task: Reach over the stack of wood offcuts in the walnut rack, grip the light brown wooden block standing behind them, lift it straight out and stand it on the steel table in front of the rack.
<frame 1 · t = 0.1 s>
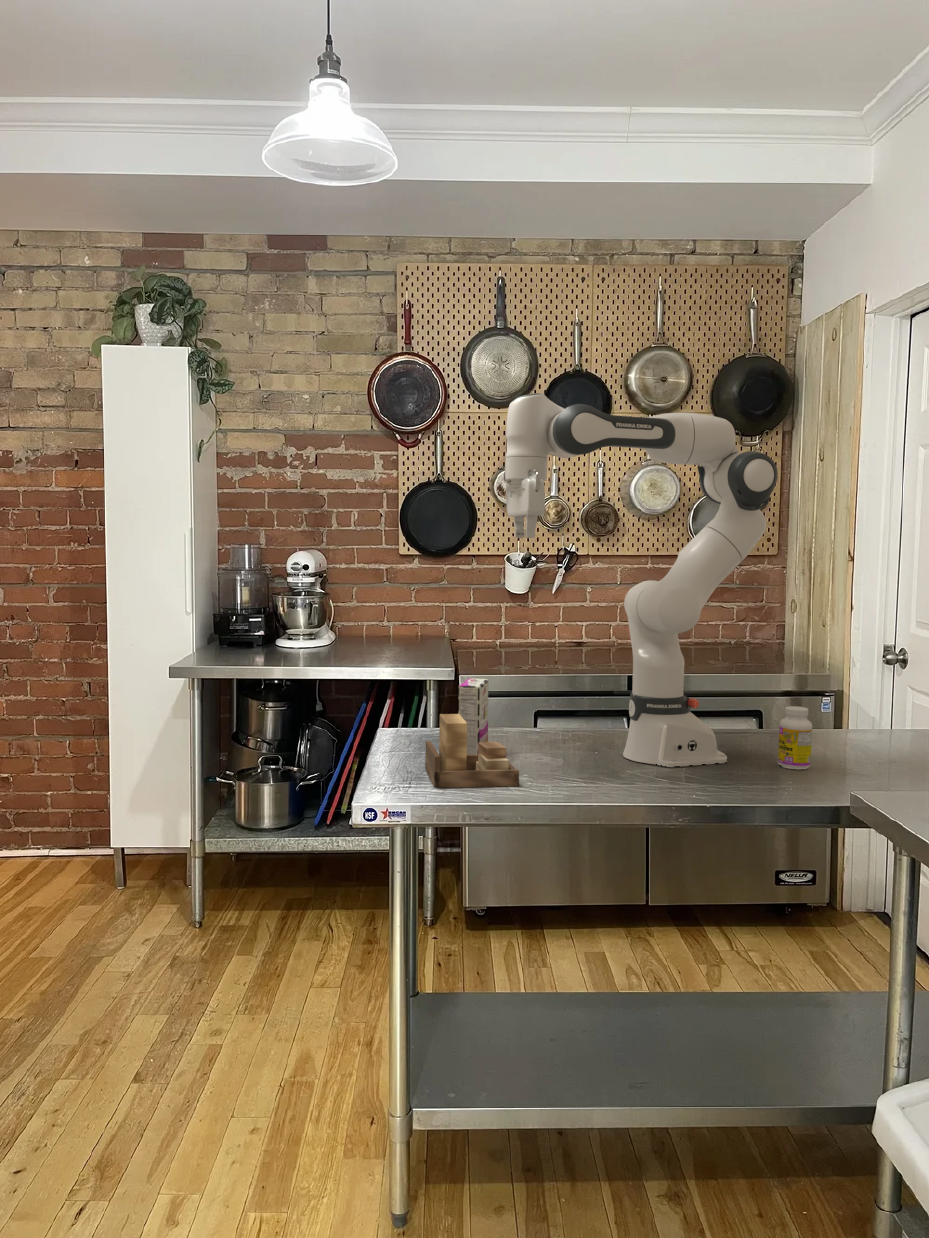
hand: (524, 538, 201), 48 cm above the table, tool pointing down, fingers open, 8 cm apart
rack: (469, 777, 190), on the table
light brown wooden block: (452, 778, 189), on the table
offcut top: (491, 754, 191), point 4 cm above the table, touching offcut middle
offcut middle: (493, 768, 190), point 2 cm above the table, touching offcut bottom, offcut top
candy bar box: (472, 756, 210), on the table
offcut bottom: (491, 779, 191), on the table, touching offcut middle
supplement bottle: (793, 768, 204), on the table
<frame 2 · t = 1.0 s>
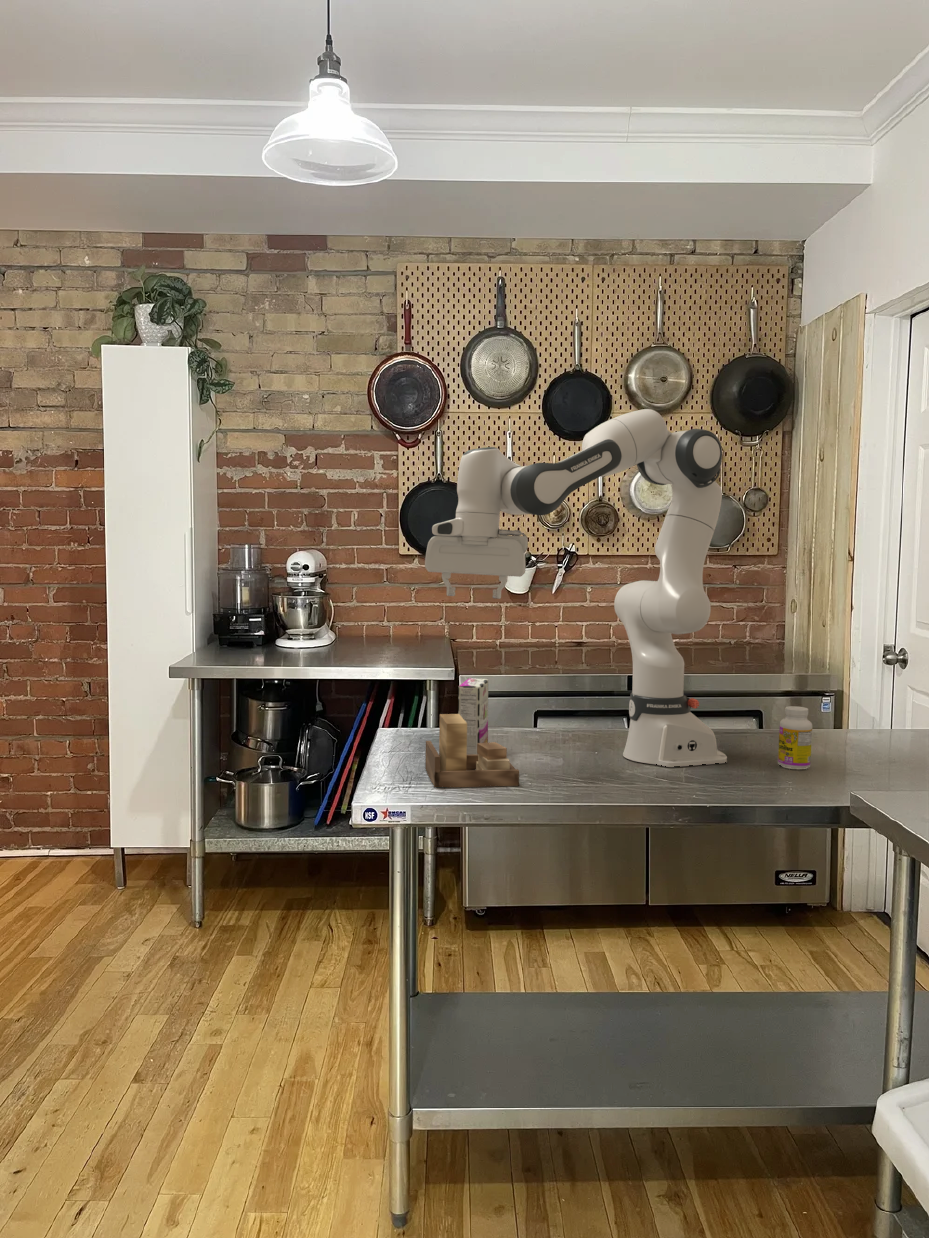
hand: (473, 597, 191), 36 cm above the table, tool pointing down, fingers open, 8 cm apart
nothing on the table moved.
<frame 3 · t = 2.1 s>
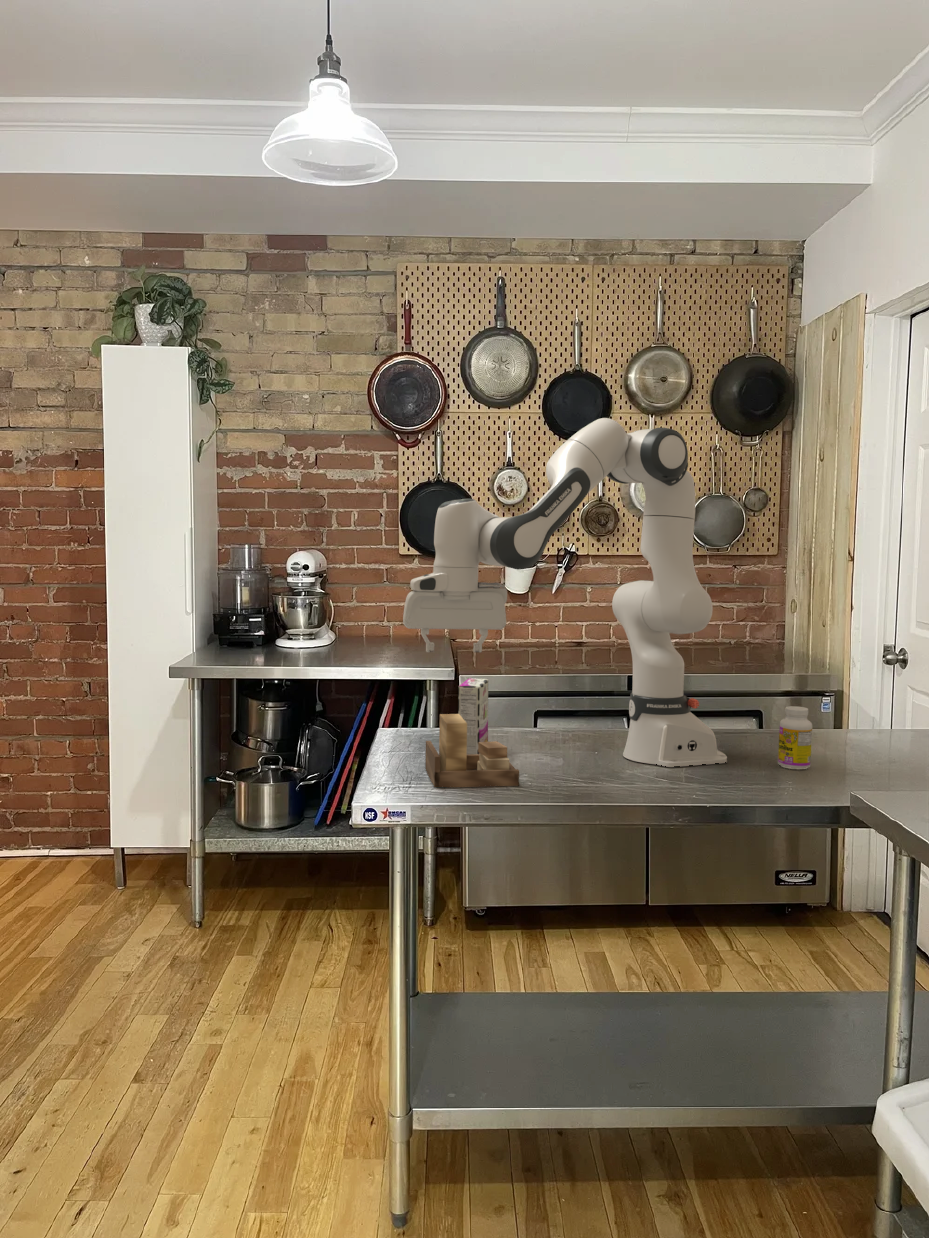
hand: (453, 652, 187), 25 cm above the table, tool pointing down, fingers open, 8 cm apart
nothing on the table moved.
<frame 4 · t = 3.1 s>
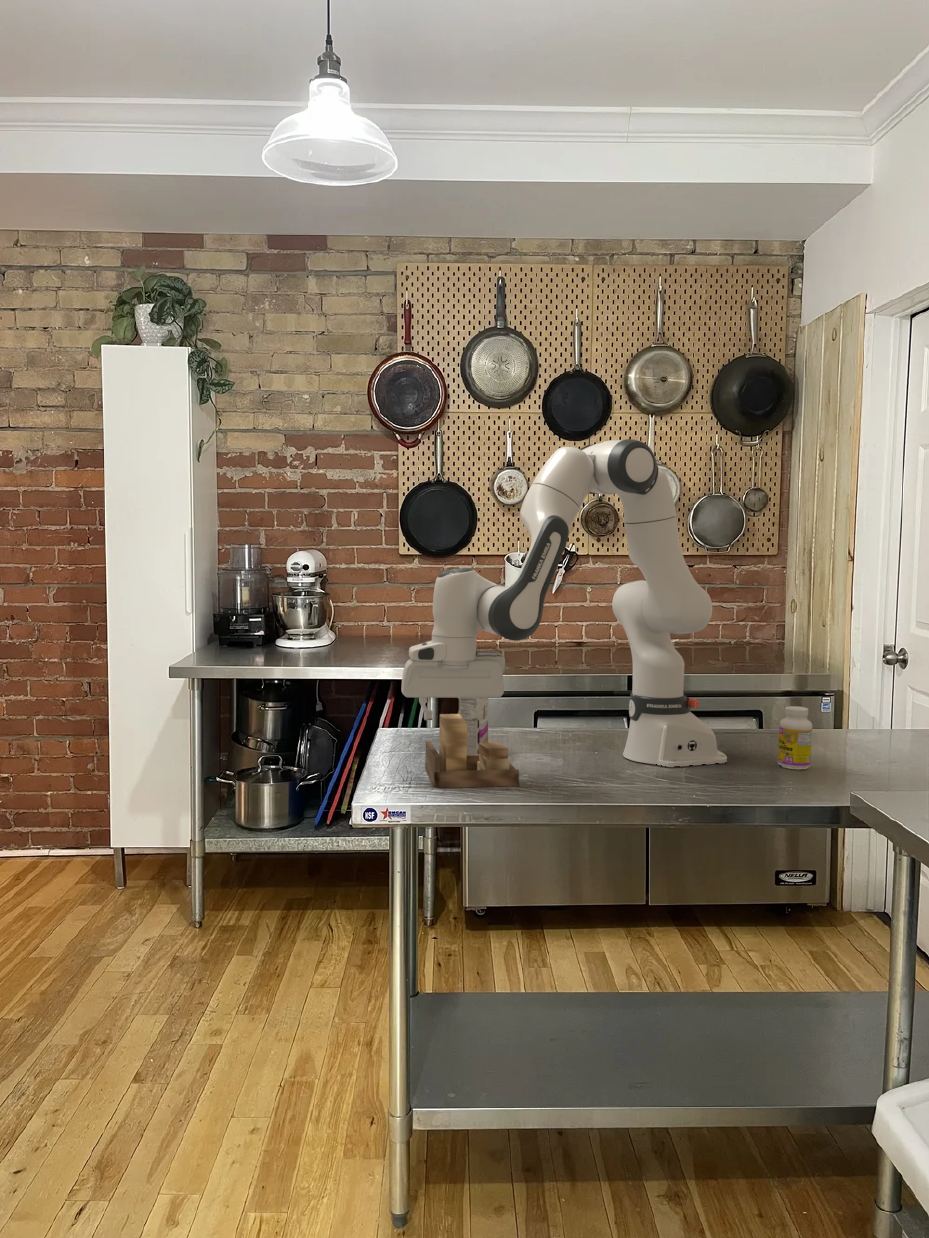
hand: (451, 719, 188), 12 cm above the table, tool pointing down, fingers open, 8 cm apart
offcut top: (492, 755, 190), point 4 cm above the table
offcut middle: (493, 768, 190), point 2 cm above the table, touching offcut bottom
everything else where it was.
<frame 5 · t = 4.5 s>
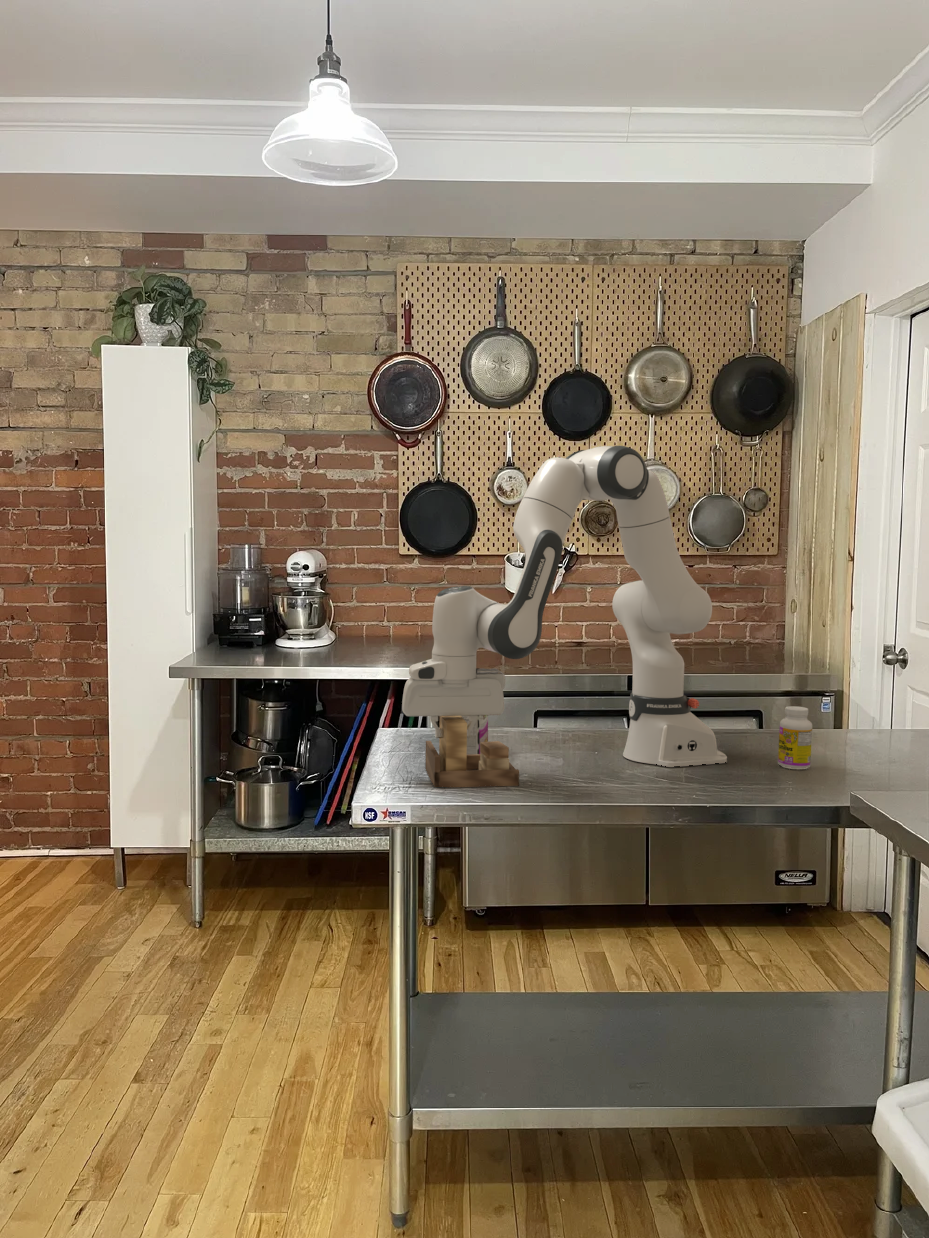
hand: (452, 737, 189), 8 cm above the table, tool pointing down, fingers closed on light brown wooden block, 4 cm apart
light brown wooden block: (452, 777, 189), on the table, touching gripper
offcut top: (494, 754, 190), point 5 cm above the table, touching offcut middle
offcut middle: (494, 767, 190), point 2 cm above the table, touching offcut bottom, offcut top
everything else where it was.
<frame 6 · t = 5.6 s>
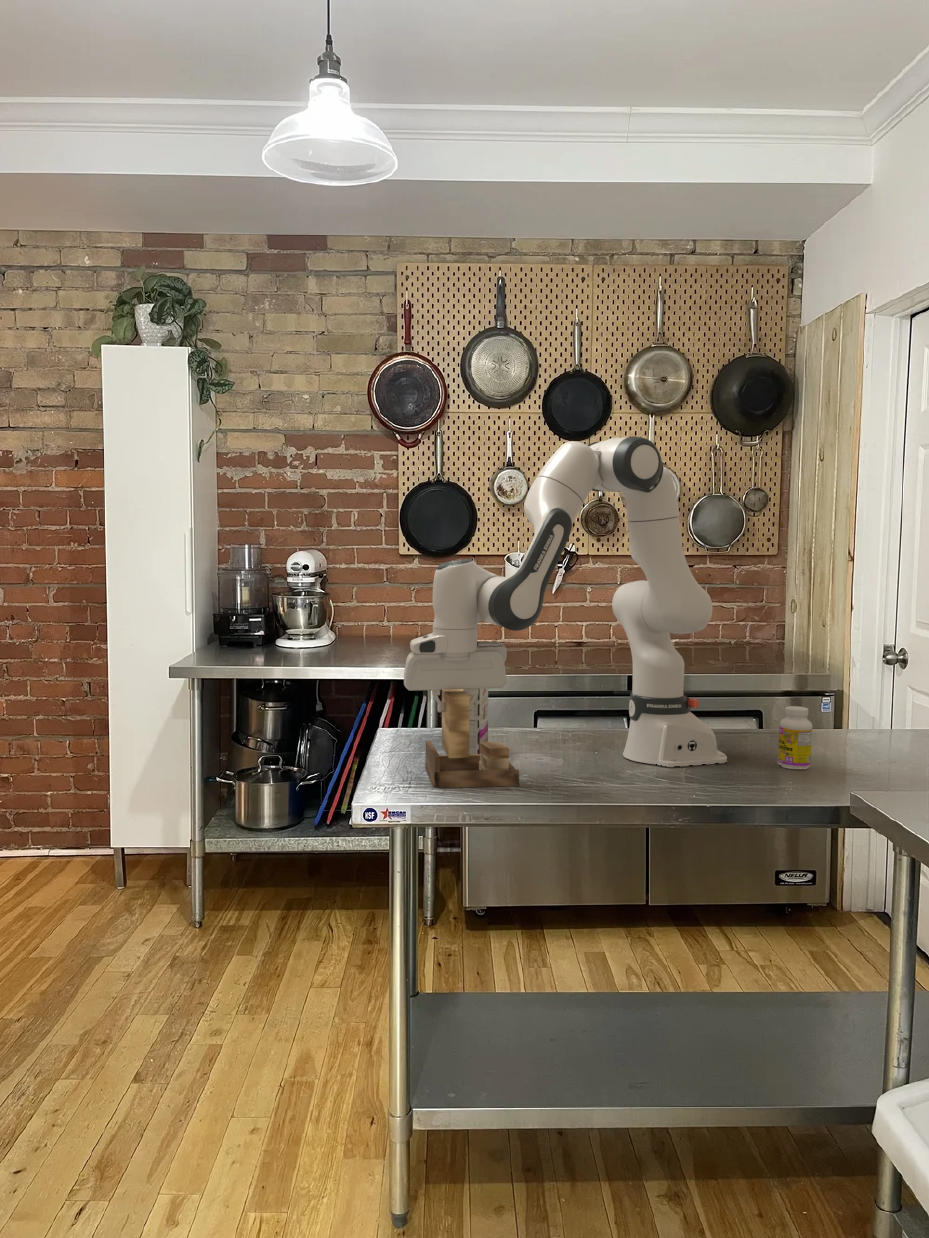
hand: (455, 711, 189), 13 cm above the table, tool pointing down, fingers closed on light brown wooden block, 4 cm apart
light brown wooden block: (455, 751, 189), point 5 cm above the table, touching gripper
offcut top: (494, 754, 191), point 4 cm above the table
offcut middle: (494, 767, 191), point 2 cm above the table
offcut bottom: (493, 779, 191), on the table
everything else where it was.
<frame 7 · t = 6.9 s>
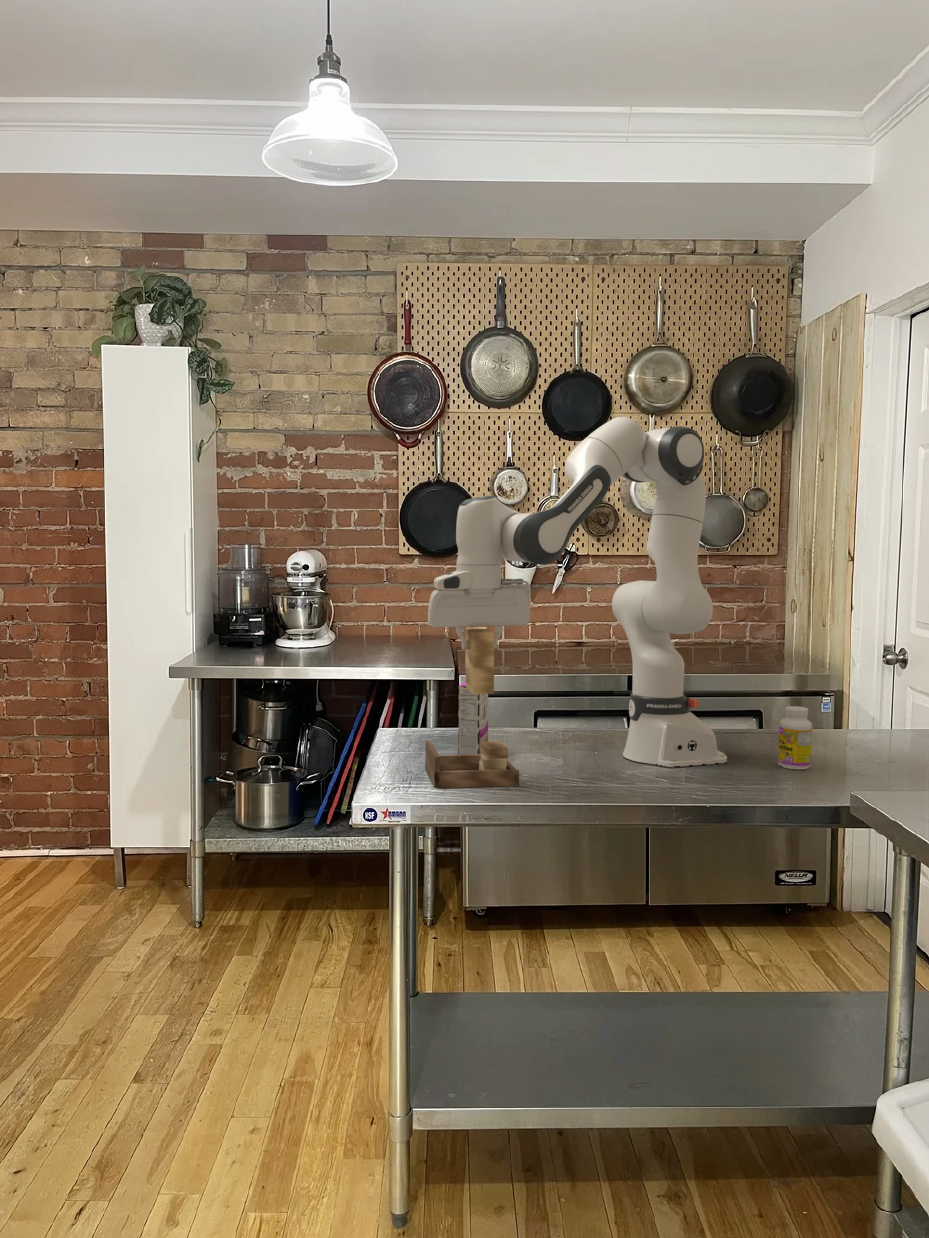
hand: (479, 648, 188), 26 cm above the table, tool pointing down, fingers closed on light brown wooden block, 4 cm apart
light brown wooden block: (479, 689, 189), point 18 cm above the table, touching gripper
offcut top: (493, 754, 191), point 4 cm above the table, touching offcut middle
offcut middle: (493, 767, 191), point 2 cm above the table, touching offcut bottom, offcut top
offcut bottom: (492, 779, 191), on the table, touching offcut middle
everything else where it was.
when the fingers open (10 cm above the table, at t = 11.1 s): light brown wooden block drops 1 cm, on the table.
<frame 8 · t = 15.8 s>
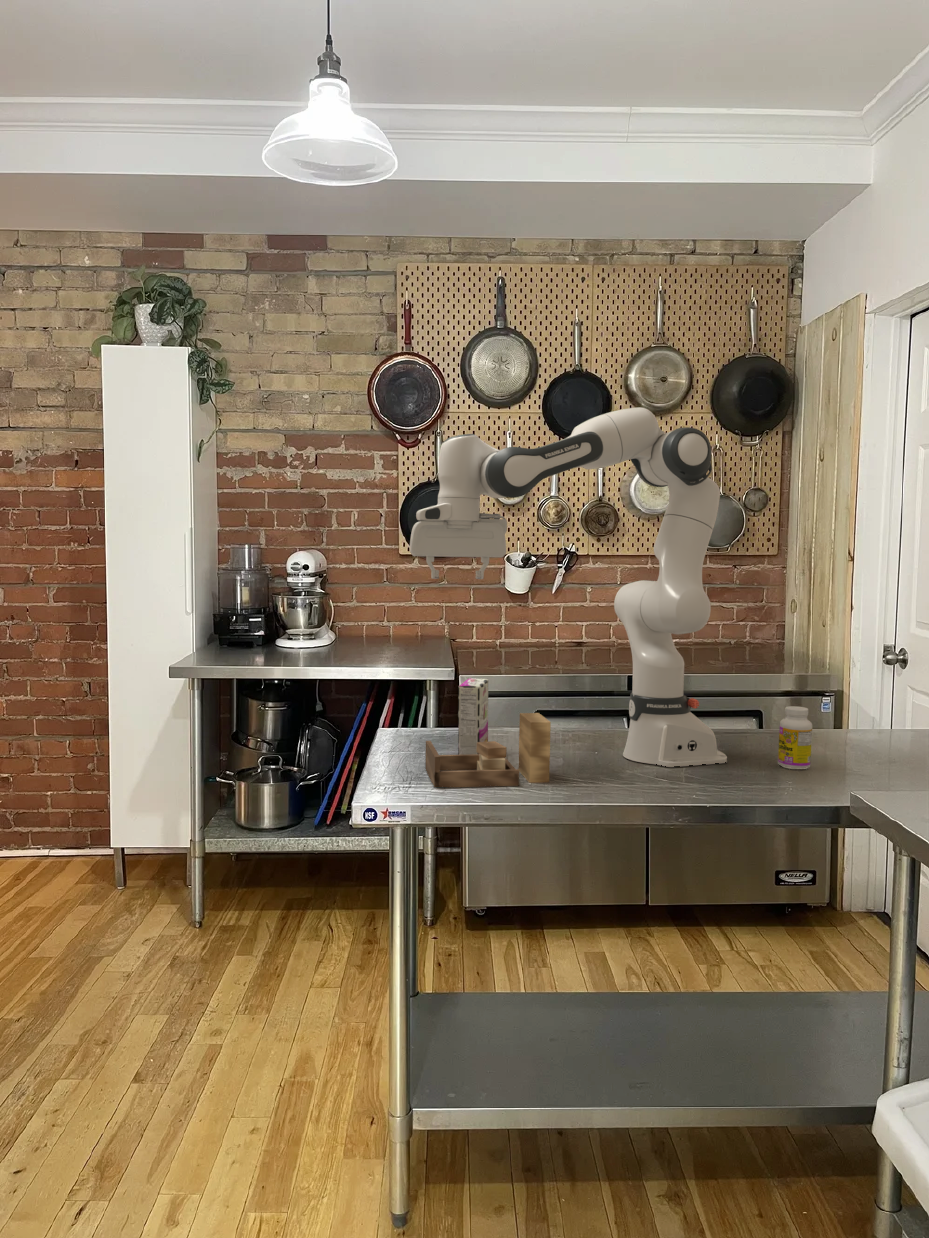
hand: (457, 578, 200), 39 cm above the table, tool pointing down, fingers open, 8 cm apart
light brown wooden block: (533, 776, 192), on the table
offcut top: (491, 754, 191), point 4 cm above the table
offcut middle: (491, 767, 191), point 2 cm above the table, touching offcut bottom
everything else where it was.
at the end: light brown wooden block inside the target area (0.1 cm from its centre), on the table; light brown wooden block tilted 0°; the gripper is holding nothing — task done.
